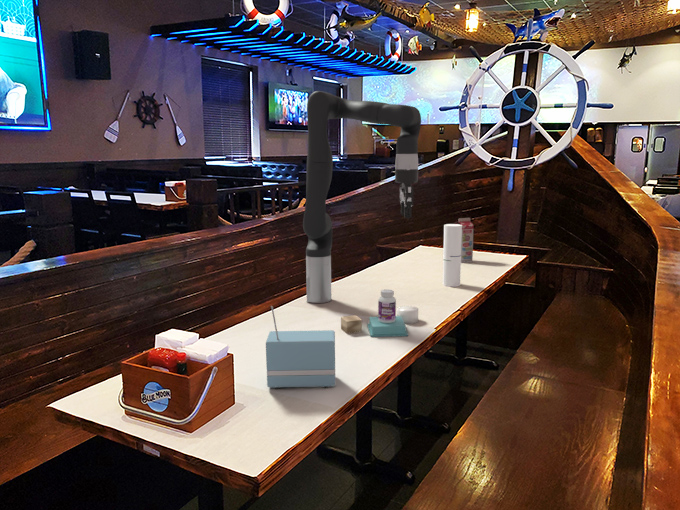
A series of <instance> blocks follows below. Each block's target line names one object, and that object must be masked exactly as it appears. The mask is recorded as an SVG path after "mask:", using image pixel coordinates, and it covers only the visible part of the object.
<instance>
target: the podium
mask: <svg viewBox="0 0 680 510" xmlns="http://www.w3.org/2000/svg"><path fill="white" fill-rule="evenodd" d="M368 322H369V323H367V329H368V332H369V336H370V338H383V337H385V338H387V337H388V338H389V337H408V336H409V334H408V332H407V329H406V328H407V326H406V323H404V322H403V320H402V318H401V316H397V315H396V319H395V322H393V323H381V322H379V320H378V316H369V321H368Z"/></svg>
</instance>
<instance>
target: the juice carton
mask: <svg viewBox="0 0 680 510" xmlns="http://www.w3.org/2000/svg"><path fill="white" fill-rule="evenodd" d="M455 224H459V225H462V239H461V264H463V263H473V254H474V253H473V251H474V224H473V222H472V221H471V217H460V218H458V221H457V222H455Z"/></svg>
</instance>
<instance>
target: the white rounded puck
mask: <svg viewBox="0 0 680 510" xmlns="http://www.w3.org/2000/svg"><path fill="white" fill-rule="evenodd" d="M396 316H401V318H402V320H403V322H404V324H405V325H406V324H407V325H410V324H415V323H418V322H419V308H418V307H416V306H412V305H402V306H399V307H397V308H396Z"/></svg>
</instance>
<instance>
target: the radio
mask: <svg viewBox="0 0 680 510" xmlns="http://www.w3.org/2000/svg"><path fill="white" fill-rule="evenodd" d="M270 308H271V312H272V318H273V323H274V329H275V331H273V330H271V331H269V332H268V336H267V338H266V341H265V356H266V357H265V359H266V360H265V362H266V364H265V365H266V385H267V387H268V388H275V390H279V389H280V388H311V387H312V388H313V387H314V388H316V387H318V388H320V387H322V388H323V389H328V388H329V387H335V386H336V334H335V333H336V331H335V330H331V329H329V330H327V329H326V330H278V329H277V323H276V318H275V317H276V316H275V311H274V306H272V305H270Z"/></svg>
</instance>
